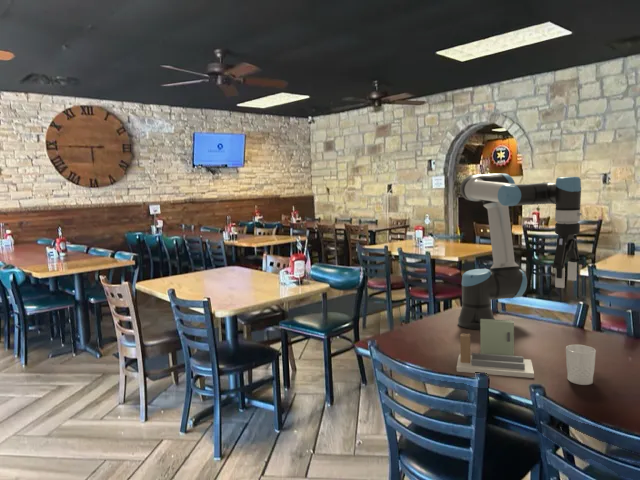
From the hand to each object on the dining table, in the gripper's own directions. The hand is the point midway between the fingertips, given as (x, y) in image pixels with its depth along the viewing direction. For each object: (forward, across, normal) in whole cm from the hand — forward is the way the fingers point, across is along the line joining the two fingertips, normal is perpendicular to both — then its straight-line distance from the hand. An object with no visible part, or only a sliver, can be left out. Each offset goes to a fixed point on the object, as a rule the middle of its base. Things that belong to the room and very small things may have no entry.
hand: (566, 283), depth 167 cm
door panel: (+25, -15, +18) cm, 34 cm away
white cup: (+24, -23, -11) cm, 35 cm away
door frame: (+24, -28, +12) cm, 39 cm away
